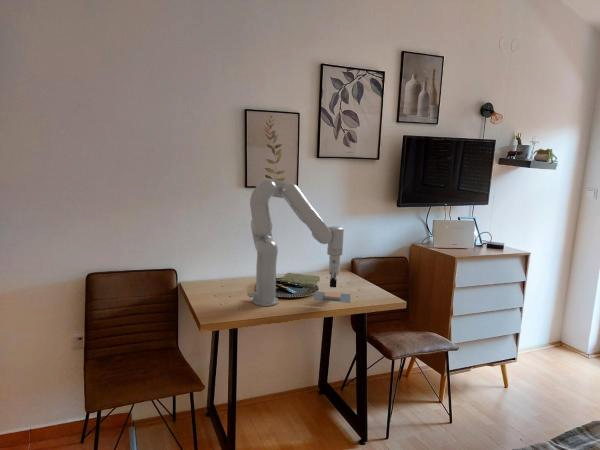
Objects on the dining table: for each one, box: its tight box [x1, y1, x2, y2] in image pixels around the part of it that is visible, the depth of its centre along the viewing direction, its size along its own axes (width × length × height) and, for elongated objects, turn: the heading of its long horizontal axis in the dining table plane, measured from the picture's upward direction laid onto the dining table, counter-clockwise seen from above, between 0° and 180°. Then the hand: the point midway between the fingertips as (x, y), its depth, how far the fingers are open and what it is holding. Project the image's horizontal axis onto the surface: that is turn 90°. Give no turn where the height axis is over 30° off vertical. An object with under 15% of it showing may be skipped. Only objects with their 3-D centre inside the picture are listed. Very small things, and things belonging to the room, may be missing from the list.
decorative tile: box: [280, 272, 321, 288], centre depth 244 cm, size 19×20×4 cm
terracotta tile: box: [324, 290, 342, 300], centre depth 219 cm, size 8×2×8 cm
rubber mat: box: [313, 291, 352, 303], centre depth 220 cm, size 18×13×1 cm
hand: (333, 286), depth 217 cm, fingers closed
